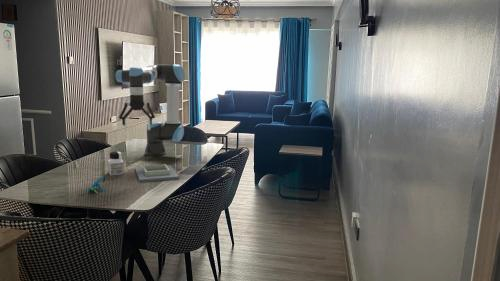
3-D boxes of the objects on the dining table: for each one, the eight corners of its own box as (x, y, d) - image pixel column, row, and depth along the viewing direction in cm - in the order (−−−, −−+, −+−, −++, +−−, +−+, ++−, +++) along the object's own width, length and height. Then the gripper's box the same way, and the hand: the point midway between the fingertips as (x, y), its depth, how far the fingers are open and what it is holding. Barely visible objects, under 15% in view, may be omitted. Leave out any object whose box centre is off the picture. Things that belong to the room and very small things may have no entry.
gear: (94, 183, 202) (105, 172, 199) (102, 191, 203) (113, 180, 199) (82, 193, 191) (94, 181, 188) (91, 201, 192) (102, 189, 189)
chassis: (134, 169, 235) (134, 163, 235) (170, 167, 244) (170, 161, 243) (139, 182, 212) (139, 175, 211) (179, 178, 220) (179, 172, 220)
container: (110, 175, 222) (109, 154, 220) (108, 172, 229) (107, 151, 227) (124, 174, 226) (123, 152, 223) (121, 170, 233) (121, 150, 230)
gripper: (114, 94, 213) (116, 132, 217) (159, 94, 224) (159, 130, 228) (113, 93, 220) (114, 130, 224) (156, 93, 230) (157, 128, 234)
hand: (137, 130), depth 226 cm, fingers open, 13 cm apart
